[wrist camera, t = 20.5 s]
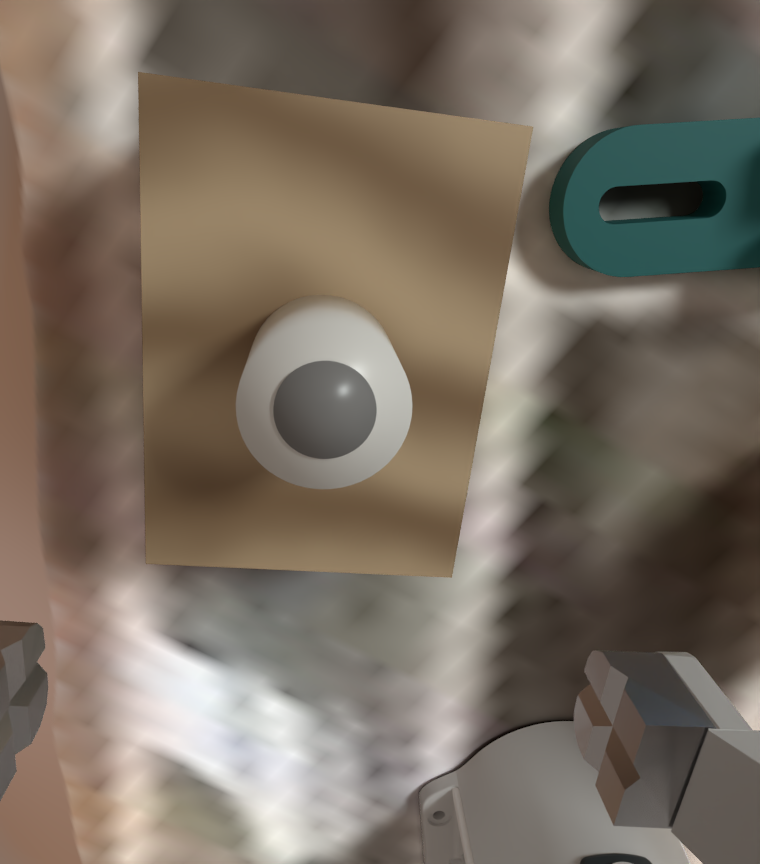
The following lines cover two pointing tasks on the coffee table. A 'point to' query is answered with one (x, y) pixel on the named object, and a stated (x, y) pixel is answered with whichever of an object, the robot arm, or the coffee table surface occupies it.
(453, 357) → the lid
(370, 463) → the white knob cylinder
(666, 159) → the bracket
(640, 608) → the coffee table surface
